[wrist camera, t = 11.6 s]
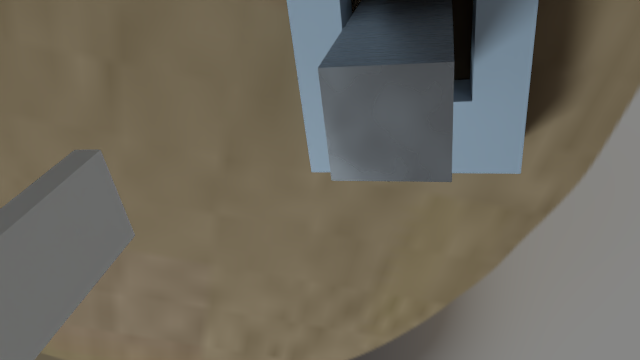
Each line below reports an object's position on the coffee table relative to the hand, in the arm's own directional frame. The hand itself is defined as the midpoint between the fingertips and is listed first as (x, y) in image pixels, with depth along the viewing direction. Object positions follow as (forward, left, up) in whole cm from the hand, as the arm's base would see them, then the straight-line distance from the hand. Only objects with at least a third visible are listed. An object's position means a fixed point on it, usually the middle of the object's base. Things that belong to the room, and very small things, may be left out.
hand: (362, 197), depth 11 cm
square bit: (0, 0, -17) cm, 17 cm away
